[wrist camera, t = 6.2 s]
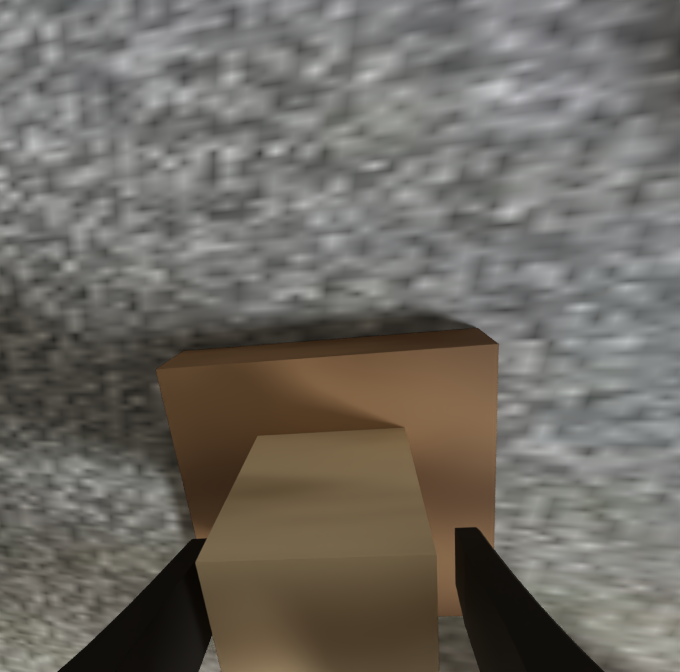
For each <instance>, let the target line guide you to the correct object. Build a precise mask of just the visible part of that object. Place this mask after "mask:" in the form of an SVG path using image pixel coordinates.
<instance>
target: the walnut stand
mask: <svg viewBox="0 0 680 672" xmlns="http://www.w3.org/2000/svg"><path fill="white" fill-rule="evenodd" d="M498 350H499V344H498V343H497V342H495V341H494V340H493V339H492V338H490V337H489V336H488V335H486V334H485V333H484V332H482V331H481V330H480V329H478V328H471V329H459V330H446V331H433V332H420V333H407V334H394V335H381V336H368V337H355V338H343V339H330V340H317V341H304V342H291V343H278V344H265V345H252V346H239V347H227V348H214V349H201V350H188V351H182V352H181V353H179V354H178V355H176V356H175V357H174V358H172V359H171V360H169V361H168V362H166V363H165V364H163V365H162V366H160V367H159V368H157V369H156V373H157V378H158V382H159V386H160V390H161V394H162V398H163V402H164V407H165V411H166V415H167V419H168V423H169V427H170V432H171V436H172V440H173V444H174V448H175V452H176V456H177V461H178V465H179V469H180V473H181V477H182V481H183V486H184V490H185V494H186V498H187V502H188V506H189V510H190V515H191V519H192V523H193V527H194V531H195V535H196V539H201V538H207V537H208V535H209V533H210V531H211V529H212V527H213V525H214V523H215V521H216V519H217V517H218V515H219V513H220V511H221V509H222V507H223V505H224V503H225V501H226V499H227V497H228V495H229V493H230V491H231V489H232V487H233V485H234V483H235V481H236V479H237V477H238V475H239V472H240V470H241V468H242V466H243V464H244V462H245V460H246V458H247V456H248V454H249V452H250V450H251V448H252V446H253V444H254V442H255V440H256V438H257V436H263V435H281V434H299V433H317V432H335V431H352V430H370V429H388V428H405V430H406V434H407V438H408V442H409V446H410V450H411V454H412V458H413V462H414V466H415V470H416V474H417V478H418V482H419V486H420V490H421V494H422V498H423V502H424V506H425V510H426V514H427V518H428V522H429V526H430V530H431V534H432V538H433V542H434V546H435V550H436V554H437V590H438V616H463V615H462V611H461V606H460V602H459V598H458V593H457V589H456V584H455V528H463V527H477V528H478V529H479V530H480V531H481V532H482V534H483V535H484V536H485V538H486V539H487V540H488V542H489V543H490V545H491V546H492V547H493V549H494V526H495V482H496V438H497V394H498Z"/></svg>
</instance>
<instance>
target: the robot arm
mask: <svg viewBox="0 0 680 672" xmlns="http://www.w3.org/2000/svg"><path fill="white" fill-rule="evenodd" d="M206 540H207V538H201V539H192V540H191V541H190V542H189V543H188V544H187V545H186V546H185V547H184V548H183V549H182V550H181V551H180V552H179V553H178V554H177V555H176V556H175V557H174V559H173V560H172V561H171V562H170V563H169V564H168V565H167V566H166V567H165V568H164V569H163V570H162V571H161V572H160V573H159V574H158V575H157V577H156V578H155V579H154V580H153V581H152V582H151V583H150V584H149V585H148V586H147V587H146V588H145V589H144V590H143V591H142V592H141V593H140V594H139V595H138V596H137V597H136V598H135V599H134V600H133V601H132V602H131V603H130V604H129V605H128V606H127V607H126V608H125V609H124V610H123V611H122V612H121V613H120V614H119V615H118V616H117V617H116V618H115V619H114V620H113V621H112V622H111V623H110V624H109V625H108V626H107V627H106V628H105V629H104V630H103V631H102V632H101V633H100V634H99V635H97V636H96V637H95V638H94V639H93V640H92V641H91V642H90V643H89V644H88V645H87V646H86V647H85V648H84V649H83V650H81V651H80V652H79V653H78V654H77V655H76V656H75V657H74V658H73V659H71V660H70V661H69V662H68V663H67V664H66V665H65V666H63V667H62V668H61V669H60V670H59V671H58V672H199V669H200V666H201V664H202V661H203V658H204V655H205V653H206V650H207V647H208V645H209V642H210V639H211V636H212V630H211V626H210V622H209V618H208V614H207V609H206V605H205V601H204V597H203V593H202V589H201V584H200V580H199V576H198V572H197V568H196V564H195V562H196V560H197V558H198V556H199V554H200V552H201V550H202V548H203V546H204V544H205V542H206ZM455 584H456V589H457V593H458V598H459V602H460V606H461V611H462V615H463V619H464V623H465V627H466V630H467V633H468V636H469V639H470V642H471V645H472V648H473V651H474V655H475V658H476V661H477V664H478V667H479V670H480V672H604V671H603V670H602V669H601V668H600V667H599V666H598V665H597V664H596V663H595V662H594V661H593V660H592V659H591V658H590V657H589V656H588V655H587V654H586V653H585V652H584V651H583V650H582V649H581V648H580V647H579V646H578V645H577V644H576V643H575V642H574V641H573V640H572V639H571V638H570V637H569V636H568V635H567V634H566V633H565V632H564V631H563V630H562V628H561V627H560V626H559V625H558V624H557V623H556V622H555V621H554V620H553V619H552V618H551V617H550V616H549V614H548V613H547V612H546V611H545V610H544V609H543V608H542V607H541V606H540V604H539V603H538V602H537V601H536V600H535V599H534V598H533V596H532V595H531V594H530V593H529V592H528V590H527V589H526V588H525V587H524V586H523V585H522V583H521V582H520V581H519V580H518V579H517V578H516V576H515V575H514V574H513V573H512V571H511V570H510V569H509V568H508V566H507V565H506V564H505V563H504V561H503V560H502V559H501V558H500V556H499V555H498V554H497V552H496V551H495V550H494V549H493V547H492V546H491V545H490V543H489V542H488V540H487V539H486V538H485V536H484V535H483V534H482V532H481V531H480V530H479V529H478V528H477V527H463V528H455Z"/></svg>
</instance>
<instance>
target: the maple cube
mask: <svg viewBox="0 0 680 672" xmlns="http://www.w3.org/2000/svg"><path fill="white" fill-rule="evenodd" d="M195 564H196V568H197V572H198V576H199V580H200V584H201V589H202V593H203V597H204V601H205V605H206V609H207V614H208V618H209V622H210V626H211V630H212V634H213V638H214V643H215V647H216V651H217V655H218V659H219V663H220V668H221V672H439V636H438V590H437V554H436V550H435V546H434V542H433V538H432V534H431V530H430V526H429V522H428V518H427V514H426V510H425V506H424V502H423V498H422V494H421V490H420V486H419V482H418V478H417V474H416V470H415V466H414V462H413V458H412V454H411V450H410V446H409V442H408V438H407V434H406V430H405V428H388V429H370V430H352V431H335V432H317V433H299V434H281V435H263V436H257V438H256V440H255V442H254V444H253V446H252V448H251V450H250V452H249V454H248V456H247V458H246V460H245V462H244V464H243V466H242V468H241V470H240V472H239V475H238V477H237V479H236V481H235V483H234V485H233V487H232V489H231V491H230V493H229V495H228V497H227V499H226V501H225V503H224V505H223V507H222V509H221V511H220V513H219V515H218V517H217V519H216V521H215V523H214V525H213V527H212V529H211V531H210V533H209V535H208V537H207V540H206V542H205V544H204V546H203V548H202V550H201V552H200V554H199V556H198V558H197V560H196V562H195Z"/></svg>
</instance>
